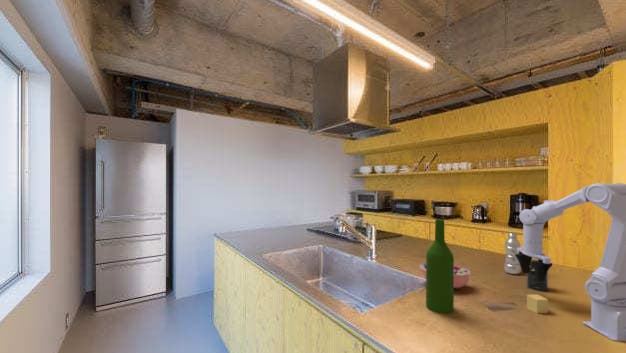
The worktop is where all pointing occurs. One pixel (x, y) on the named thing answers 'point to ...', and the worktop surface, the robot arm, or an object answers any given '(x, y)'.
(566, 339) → the worktop surface
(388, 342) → the worktop surface
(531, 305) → the ochre block
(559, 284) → the worktop surface
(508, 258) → the plastic bottle
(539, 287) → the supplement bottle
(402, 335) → the worktop surface
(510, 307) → the walnut base
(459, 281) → the cell model
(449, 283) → the wine bottle
